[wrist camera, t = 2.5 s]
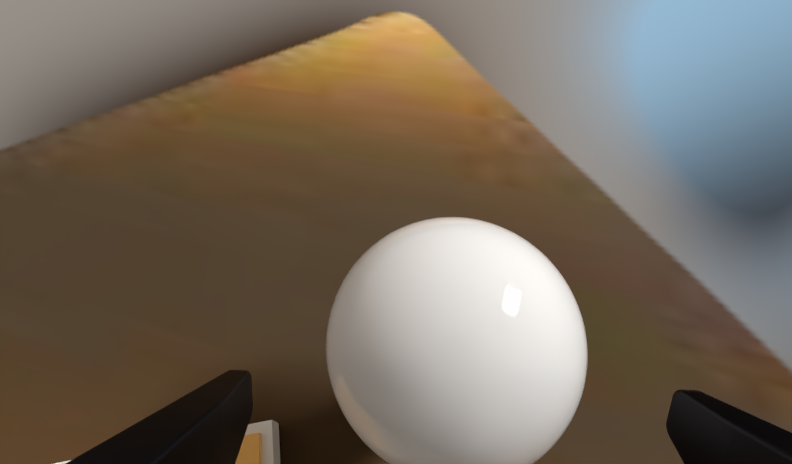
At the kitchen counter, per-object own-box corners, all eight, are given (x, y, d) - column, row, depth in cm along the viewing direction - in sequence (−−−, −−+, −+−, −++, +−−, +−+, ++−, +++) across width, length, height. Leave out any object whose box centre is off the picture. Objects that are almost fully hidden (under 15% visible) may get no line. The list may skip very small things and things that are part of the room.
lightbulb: (462, 518, 15) (600, 586, 6) (317, 427, 16) (233, 359, 7) (519, 363, 18) (673, 238, 9) (393, 297, 19) (405, 127, 10)
